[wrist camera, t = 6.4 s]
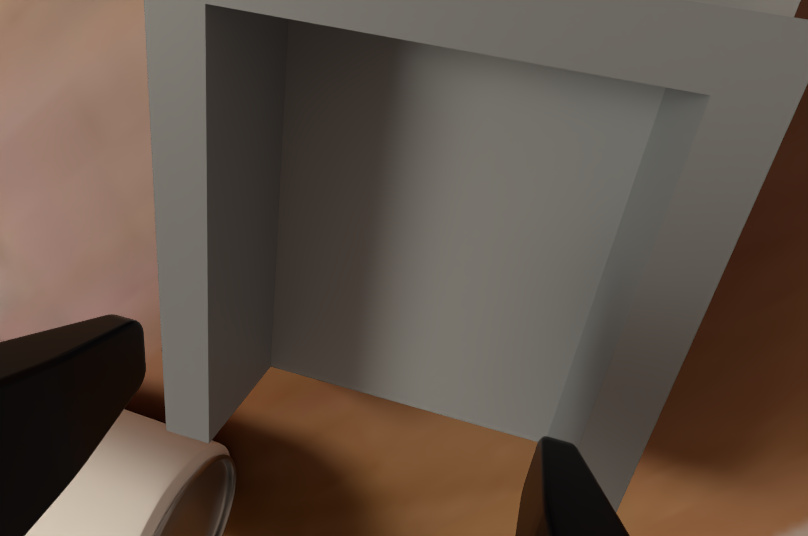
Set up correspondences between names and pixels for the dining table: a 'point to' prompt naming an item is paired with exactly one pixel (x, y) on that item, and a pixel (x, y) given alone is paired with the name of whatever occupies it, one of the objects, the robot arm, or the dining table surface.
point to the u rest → (458, 200)
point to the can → (145, 486)
